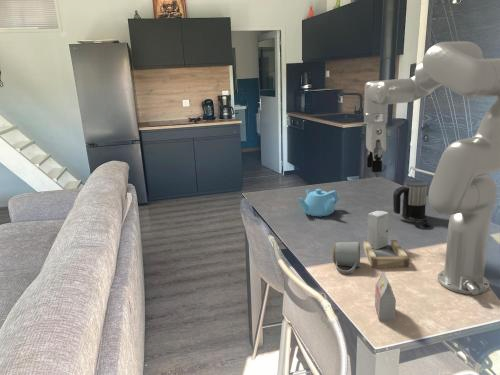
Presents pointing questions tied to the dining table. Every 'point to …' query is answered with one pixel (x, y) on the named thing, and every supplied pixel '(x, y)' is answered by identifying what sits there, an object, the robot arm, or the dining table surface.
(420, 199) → the black and silver appliance
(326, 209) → the teapot
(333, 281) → the dining table surface
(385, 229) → the skincare box
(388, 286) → the tea bag
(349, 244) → the ceramic mug
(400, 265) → the wooden tray
